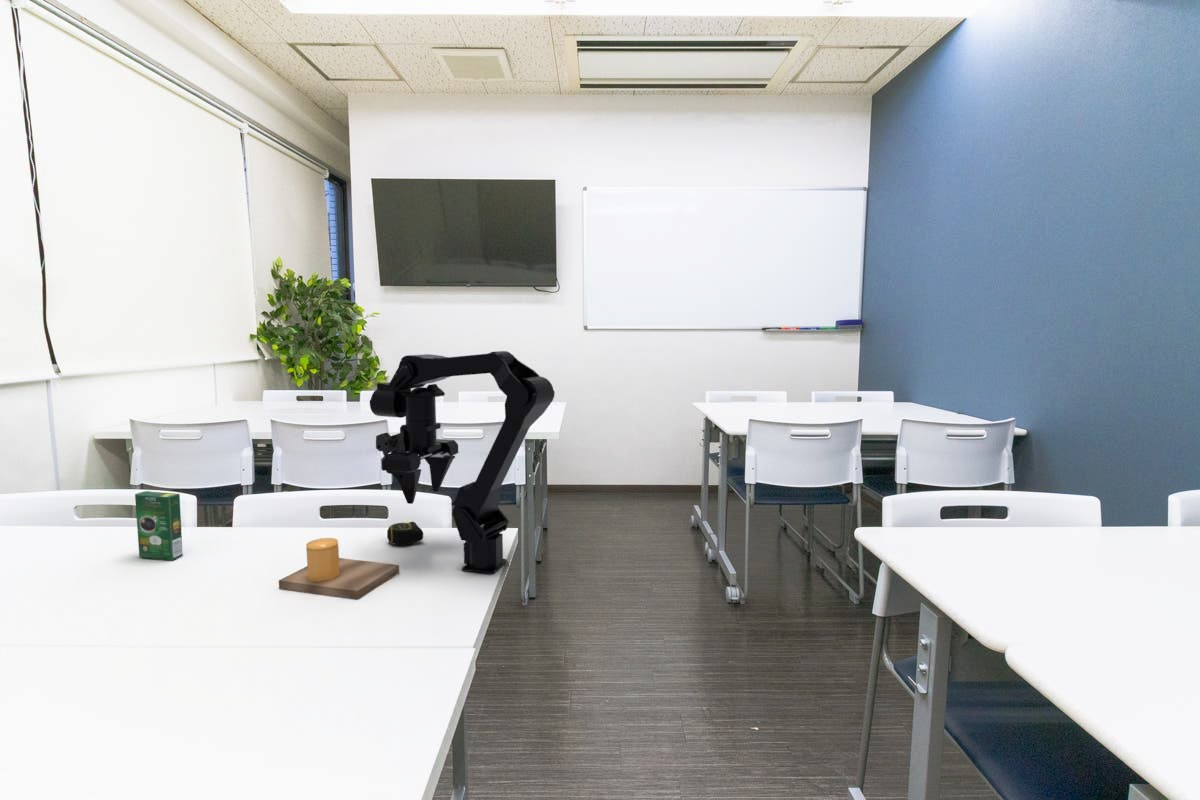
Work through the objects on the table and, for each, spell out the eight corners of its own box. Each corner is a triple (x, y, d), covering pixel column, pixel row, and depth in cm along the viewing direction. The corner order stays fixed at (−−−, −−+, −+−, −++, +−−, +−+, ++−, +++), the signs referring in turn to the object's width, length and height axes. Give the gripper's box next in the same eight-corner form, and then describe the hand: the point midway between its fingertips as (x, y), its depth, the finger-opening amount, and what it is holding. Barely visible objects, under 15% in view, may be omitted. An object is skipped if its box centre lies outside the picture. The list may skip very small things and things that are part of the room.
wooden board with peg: (399, 572, 115) (398, 538, 115) (357, 599, 104) (355, 562, 103) (326, 563, 120) (325, 531, 119) (279, 588, 108) (276, 552, 107)
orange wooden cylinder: (345, 571, 112) (344, 539, 111) (325, 582, 107) (324, 549, 106) (322, 568, 113) (320, 536, 113) (301, 579, 108) (299, 546, 108)
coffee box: (185, 556, 124) (180, 492, 122) (173, 561, 121) (168, 495, 120) (151, 553, 125) (146, 490, 124) (138, 558, 123) (132, 493, 121)
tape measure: (424, 545, 131) (423, 527, 130) (390, 550, 127) (390, 532, 127) (417, 535, 137) (416, 519, 136) (385, 540, 133) (384, 523, 133)
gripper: (411, 411, 132) (414, 483, 134) (354, 424, 114) (358, 506, 116) (458, 413, 129) (460, 486, 131) (407, 426, 111) (410, 511, 113)
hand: (423, 497), depth 123 cm, fingers open, 9 cm apart
